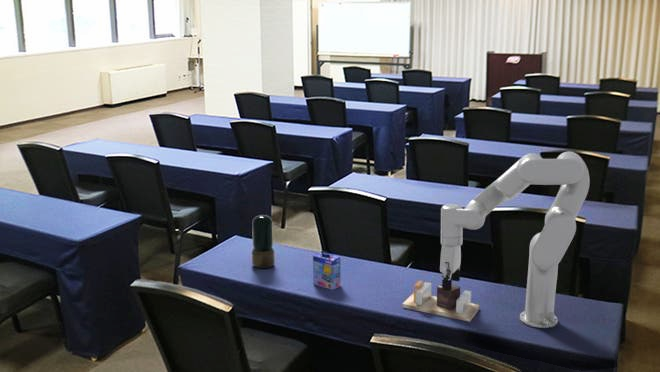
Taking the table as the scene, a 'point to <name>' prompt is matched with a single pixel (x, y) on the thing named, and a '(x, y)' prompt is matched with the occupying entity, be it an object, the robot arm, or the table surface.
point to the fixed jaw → (463, 302)
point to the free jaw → (422, 292)
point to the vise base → (440, 308)
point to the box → (448, 297)
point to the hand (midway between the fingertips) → (451, 285)
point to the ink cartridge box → (326, 270)
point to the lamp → (262, 242)
